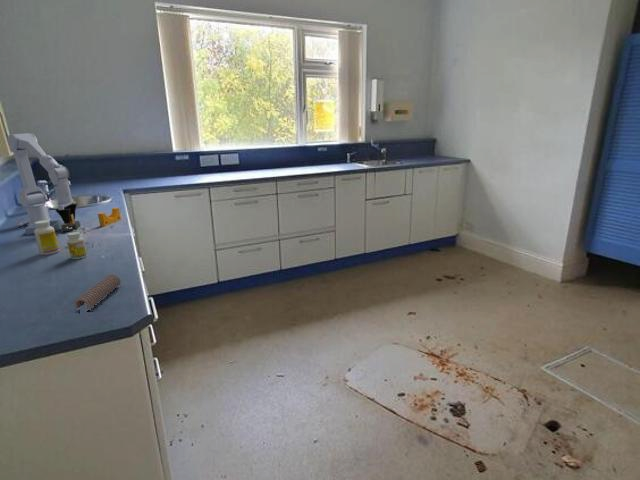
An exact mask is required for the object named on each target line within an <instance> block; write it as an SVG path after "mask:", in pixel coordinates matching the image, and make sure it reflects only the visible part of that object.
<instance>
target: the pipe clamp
mask: <svg viewBox="0 0 640 480" xmlns="http://www.w3.org/2000/svg"><path fill="white" fill-rule="evenodd" d="M97 216H98V221H99V222H98V223H99V226H100V227H108V226H110V225H111V223H112V224H114V223H117V222H119V221H121V220H122V216H121V212H120V207H112V208H111V213H110V214H108V215H107V214H106V212H97ZM118 220H119V221H118ZM116 221H117V222H116Z"/></svg>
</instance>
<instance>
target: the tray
mask: <svg viewBox="0 0 640 480" xmlns="http://www.w3.org/2000/svg"><path fill="white" fill-rule="evenodd" d="M49 222H50V226H51V227H53V228H54V230H55V233H56V232H57V231H58V230H60V229H62V227H61V225H62V224H63V223H64V222H63V220H62V219H57V220H56V219H55V220H50V221H49ZM36 228H37V227H36V226H35V222H34V223H33V224H31V225H27V227H25V228H24V231H25V234H26V235H27V236H28V235H35V234H34V230H35V229H36Z"/></svg>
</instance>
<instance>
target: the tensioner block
mask: <svg viewBox="0 0 640 480" xmlns="http://www.w3.org/2000/svg"><path fill="white" fill-rule="evenodd" d="M80 227H81V221H80V220H75V222H74V223H72V224H65V223H64V222H63V224H62V225H61V232H62V233H63V234H65V233H68V234H69V233H72V232H74V230H78V228H80Z"/></svg>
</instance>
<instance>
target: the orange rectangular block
mask: <svg viewBox="0 0 640 480" xmlns="http://www.w3.org/2000/svg"><path fill="white" fill-rule="evenodd" d="M75 221H76V219H74V216H73V214H70V223H67V224H72V223H74V222H75Z"/></svg>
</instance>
